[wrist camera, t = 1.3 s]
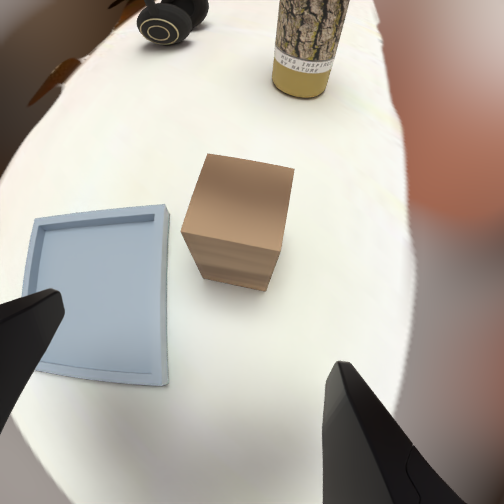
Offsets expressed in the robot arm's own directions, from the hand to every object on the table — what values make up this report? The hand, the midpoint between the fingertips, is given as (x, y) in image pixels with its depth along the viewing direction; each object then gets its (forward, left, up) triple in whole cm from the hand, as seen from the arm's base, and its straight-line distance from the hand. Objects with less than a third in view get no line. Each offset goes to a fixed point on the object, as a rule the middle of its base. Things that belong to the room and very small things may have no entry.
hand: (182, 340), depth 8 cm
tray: (+4, +11, -14) cm, 18 cm away
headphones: (+45, +7, -14) cm, 48 cm away
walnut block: (+7, -2, -14) cm, 16 cm away
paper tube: (+29, -10, -14) cm, 34 cm away
